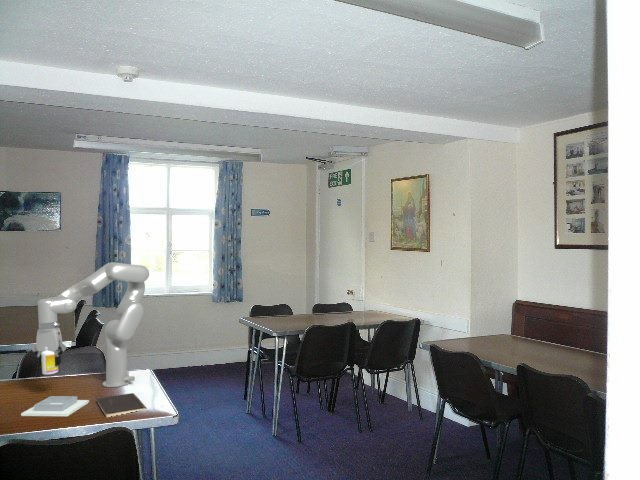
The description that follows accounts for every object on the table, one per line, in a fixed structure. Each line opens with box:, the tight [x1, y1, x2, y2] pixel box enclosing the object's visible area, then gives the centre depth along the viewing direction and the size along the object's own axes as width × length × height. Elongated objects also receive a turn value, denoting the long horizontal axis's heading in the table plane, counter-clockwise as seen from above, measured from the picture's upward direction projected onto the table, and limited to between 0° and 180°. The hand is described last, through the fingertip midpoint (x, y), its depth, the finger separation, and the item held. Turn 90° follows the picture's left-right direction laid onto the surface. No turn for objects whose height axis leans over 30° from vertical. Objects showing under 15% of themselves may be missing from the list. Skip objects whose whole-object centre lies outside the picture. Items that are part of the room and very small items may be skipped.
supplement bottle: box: [41, 347, 59, 376], centre depth 232 cm, size 7×7×13 cm
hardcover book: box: [96, 392, 147, 418], centre depth 218 cm, size 16×23×2 cm
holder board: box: [20, 395, 90, 417], centre depth 215 cm, size 19×18×4 cm
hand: (49, 364), depth 232 cm, fingers closed on supplement bottle, 6 cm apart
